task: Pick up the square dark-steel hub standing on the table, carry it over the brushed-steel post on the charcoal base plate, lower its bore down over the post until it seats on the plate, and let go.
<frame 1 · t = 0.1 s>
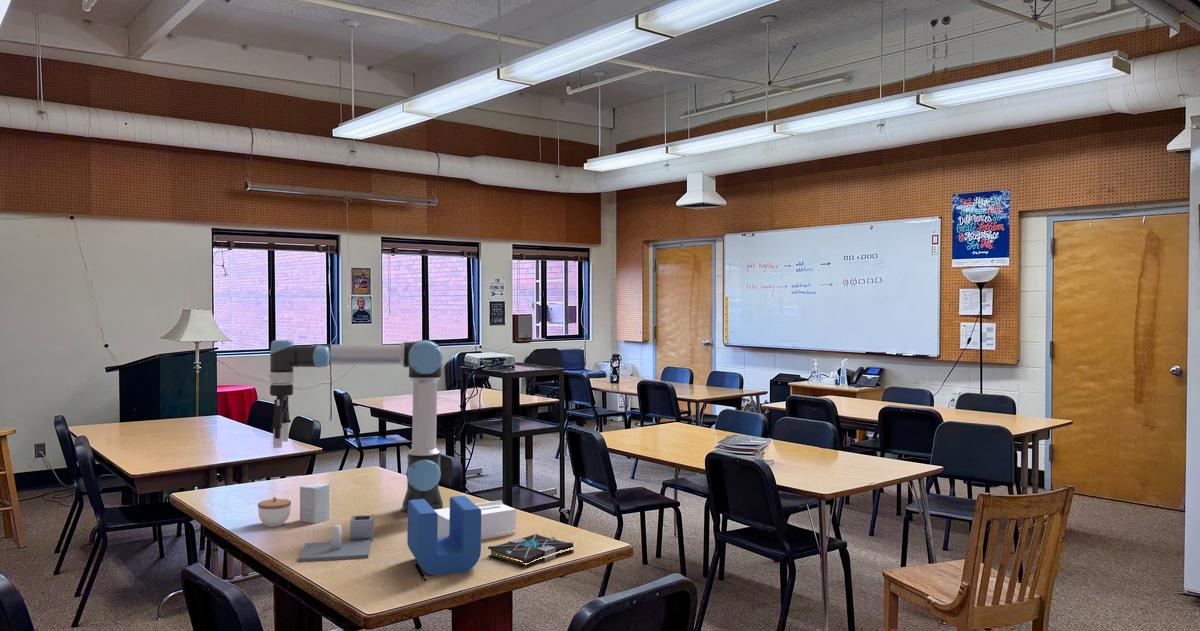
hand: (280, 444, 277), 28 cm above the table, fingers open, 13 cm apart
block: (443, 565, 234), on the table
book: (530, 556, 245), on the table
supplement box: (314, 520, 283), on the table
tissue box: (472, 535, 267), on the table
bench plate: (336, 552, 245), on the table
hub: (362, 539, 260), on the table
lidded jar: (274, 524, 277), on the table
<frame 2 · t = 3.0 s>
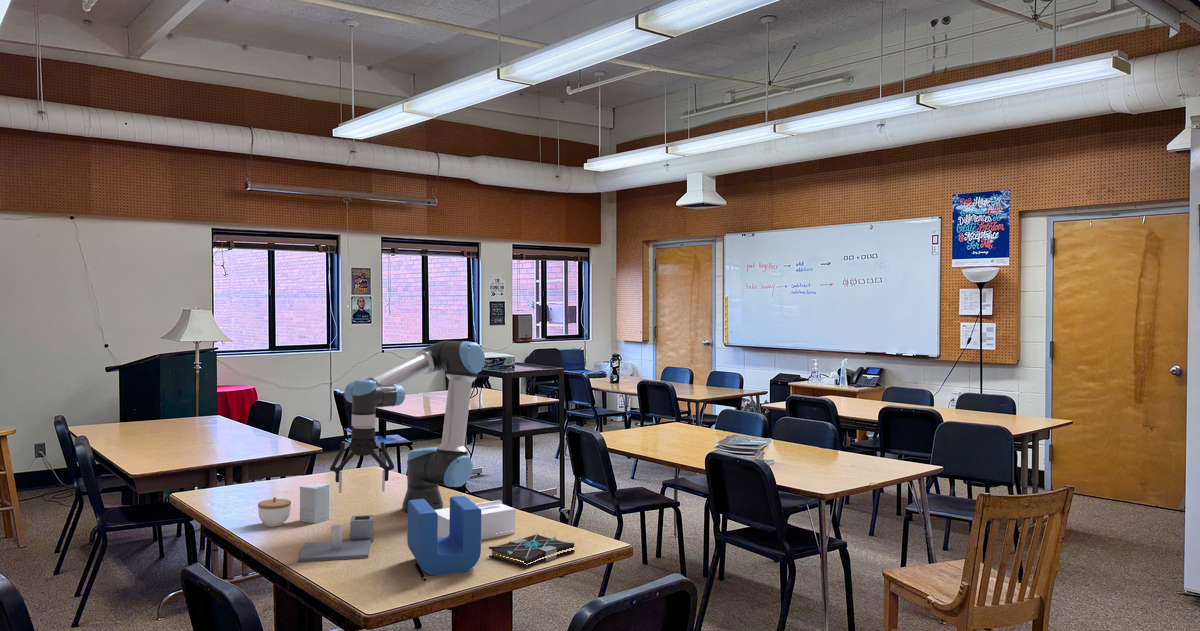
hand: (361, 491, 259), 16 cm above the table, fingers open, 13 cm apart
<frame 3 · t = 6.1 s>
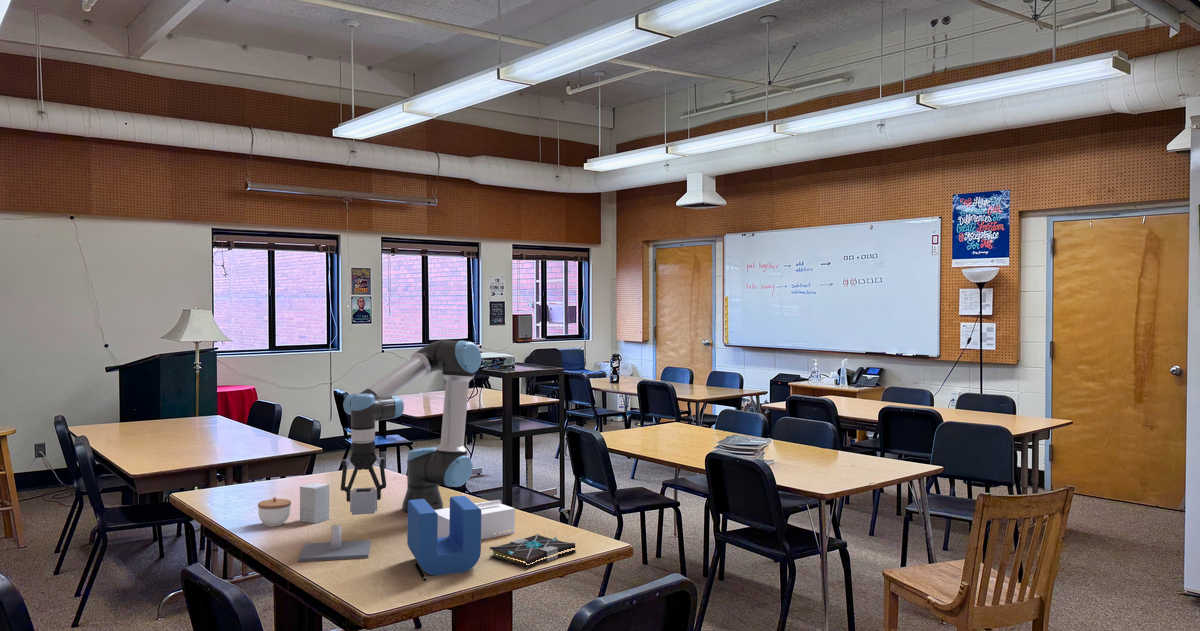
hand: (363, 510, 260), 9 cm above the table, fingers closed on hub, 7 cm apart
hub: (363, 511, 260), point 9 cm above the table, touching gripper
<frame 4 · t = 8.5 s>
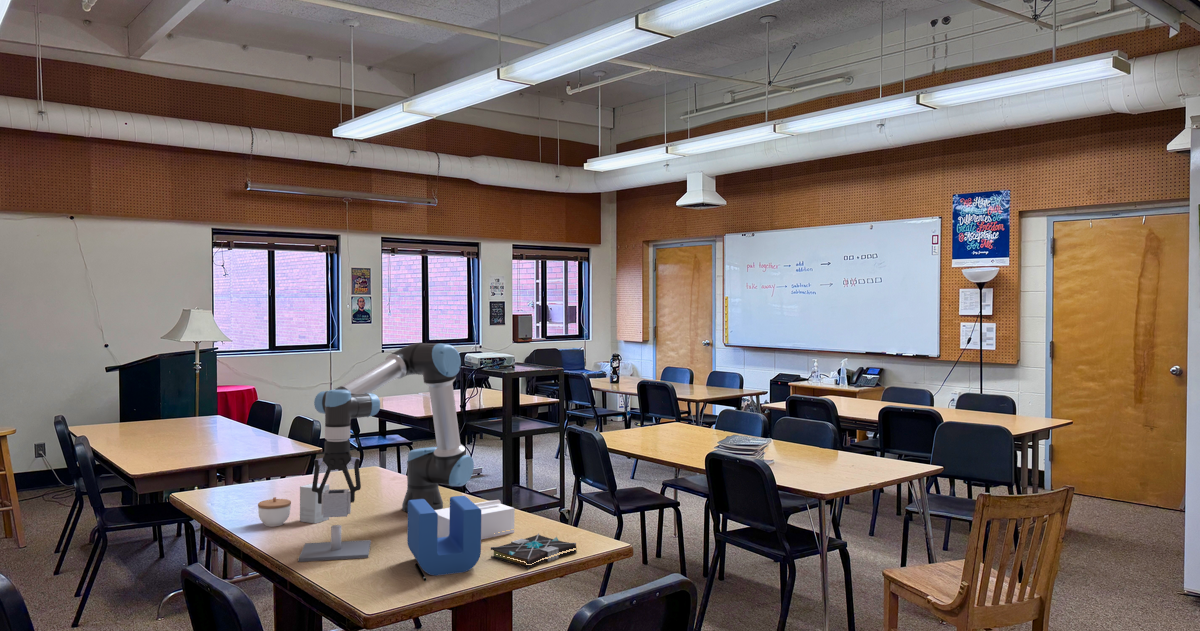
hand: (336, 513, 245), 12 cm above the table, fingers closed on hub, 7 cm apart
hub: (336, 514, 245), point 12 cm above the table, touching gripper
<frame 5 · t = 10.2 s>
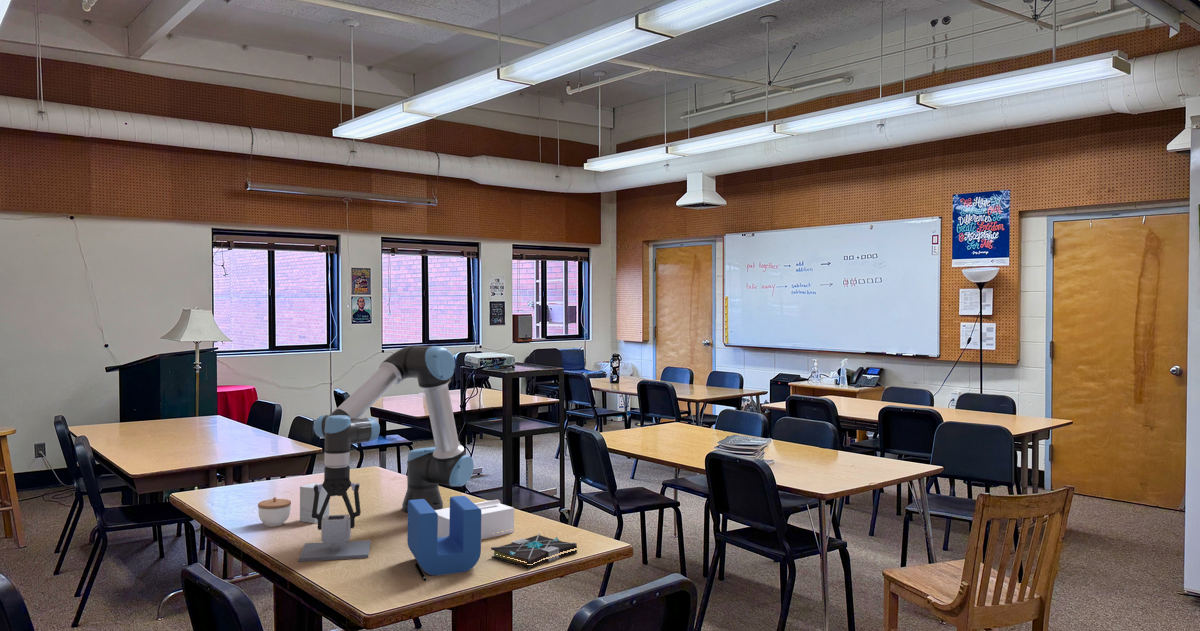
hand: (336, 539, 245), 4 cm above the table, fingers closed on hub, 7 cm apart
hub: (336, 540, 245), point 4 cm above the table, touching gripper
when the fingers open (2 cm above the table, at t = 11.4 s): hub drops 1 cm, resting on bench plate.
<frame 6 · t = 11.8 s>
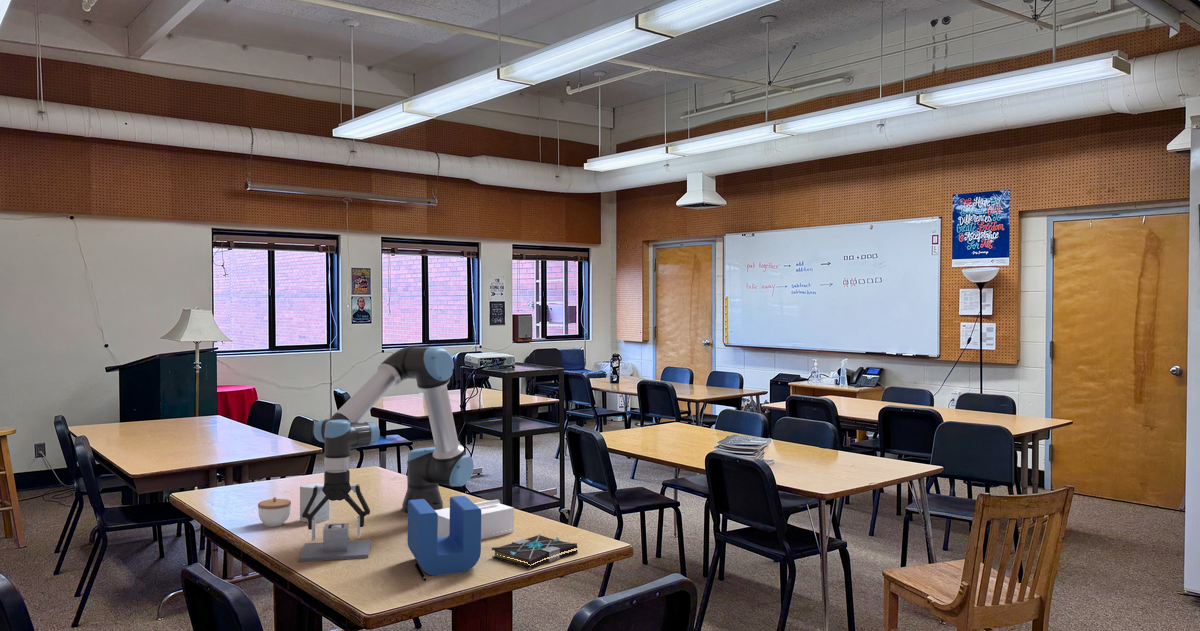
hand: (336, 538, 245), 4 cm above the table, fingers open, 13 cm apart
hub: (335, 548, 245), point 1 cm above the table, touching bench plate
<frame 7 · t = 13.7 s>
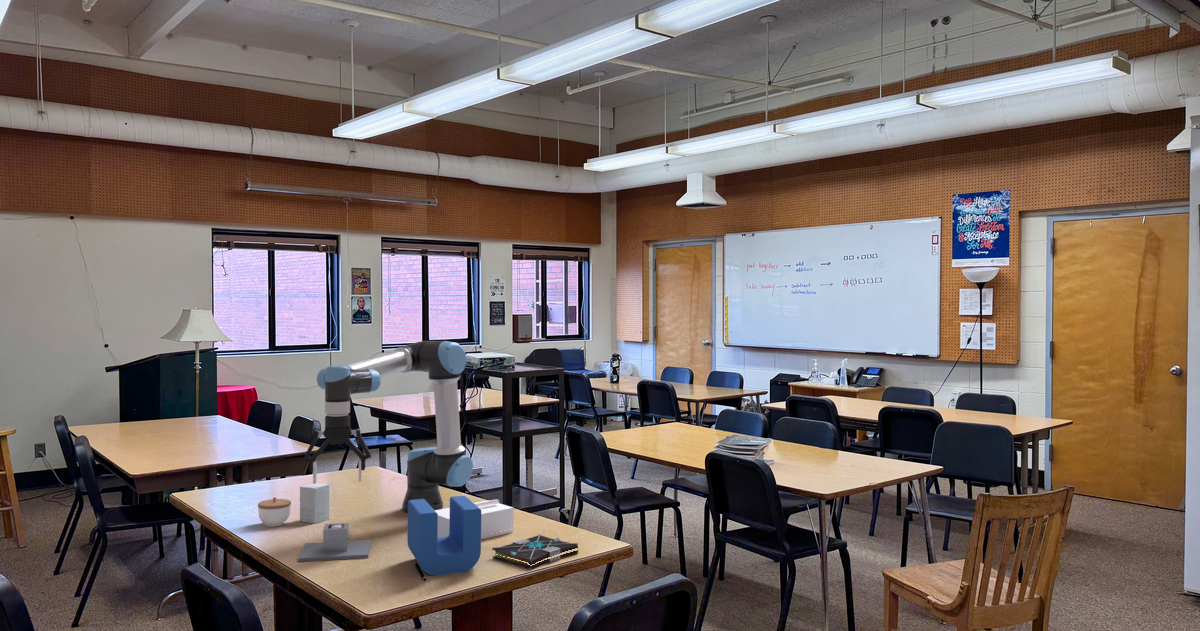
hand: (337, 481, 249), 21 cm above the table, fingers open, 13 cm apart
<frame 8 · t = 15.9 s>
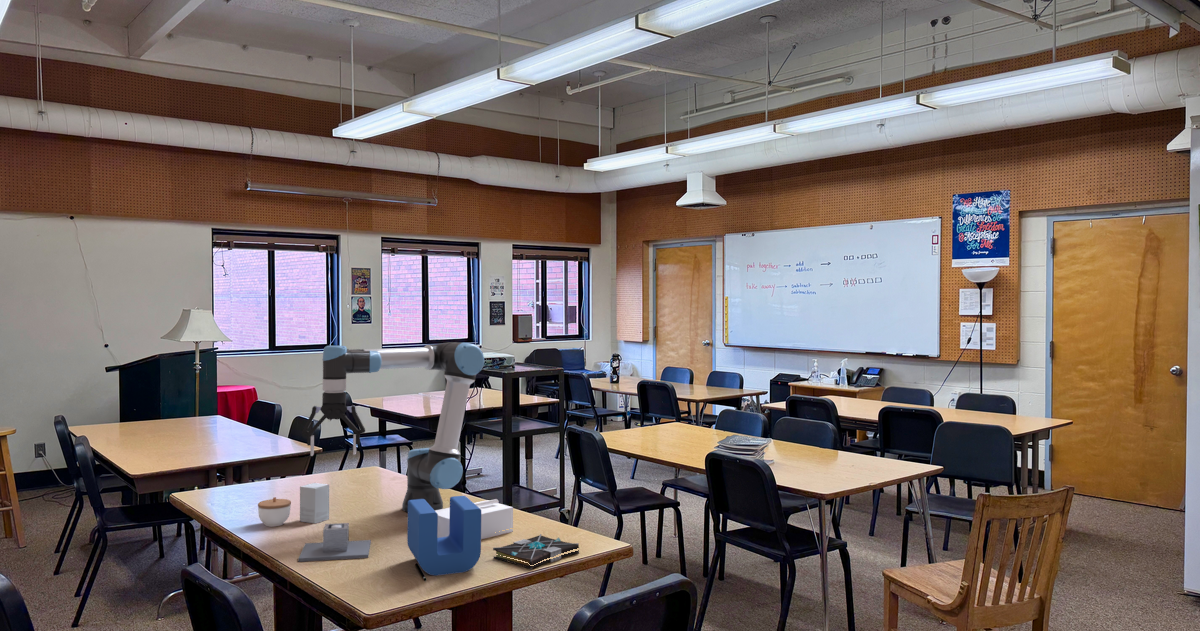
hand: (333, 454, 265), 27 cm above the table, fingers open, 13 cm apart
at the end: hub 0.0 cm off-centre on the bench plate, point 1.0 cm above the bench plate's base; hub tilted 0°; the gripper is holding nothing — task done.
